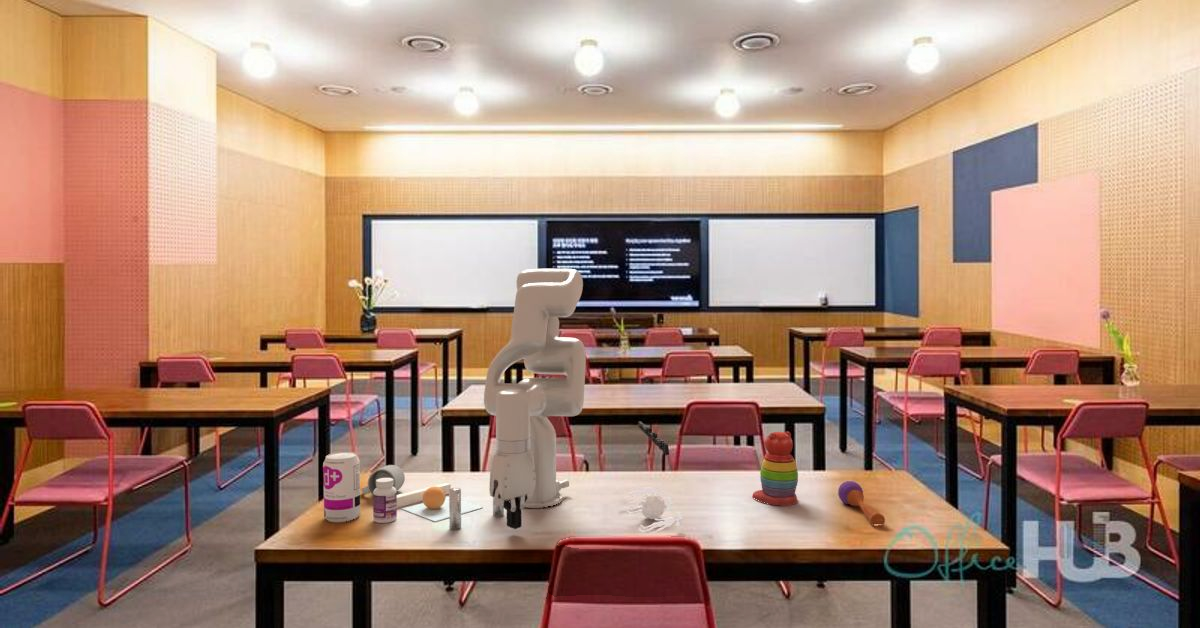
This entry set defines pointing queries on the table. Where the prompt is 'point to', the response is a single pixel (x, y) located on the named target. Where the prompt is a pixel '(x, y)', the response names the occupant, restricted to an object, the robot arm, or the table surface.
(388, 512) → the pill bottle
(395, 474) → the ceramic mug
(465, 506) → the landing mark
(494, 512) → the post
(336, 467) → the supplement can
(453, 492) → the post
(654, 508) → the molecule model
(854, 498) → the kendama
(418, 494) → the strip
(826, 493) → the table surface
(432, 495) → the ball
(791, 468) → the stacking bear
